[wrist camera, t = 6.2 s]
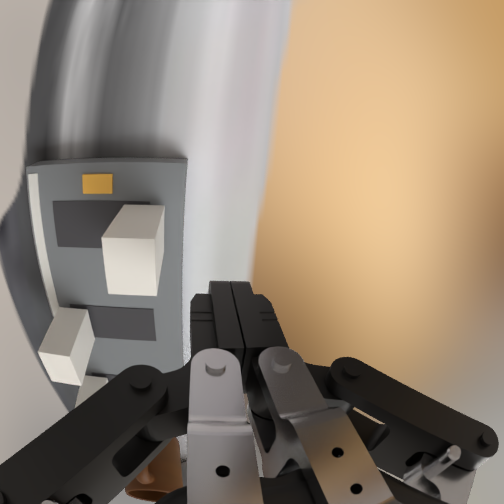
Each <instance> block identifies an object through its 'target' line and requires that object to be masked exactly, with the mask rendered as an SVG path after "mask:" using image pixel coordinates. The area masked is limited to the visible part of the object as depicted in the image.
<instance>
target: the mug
mask: <svg viewBox="0 0 504 504" xmlns="http://www.w3.org/2000/svg"><path fill="white" fill-rule="evenodd" d="M181 487H183V479H182V468H181V458H180V446H179V442H178V440H177V438H176V437H174V438H172V440H171V441H170V442H169V443H168V444H167V445H166V447H165V448H164V449H163V450H162V451H161V452H160V453H159V454H158V455H157V456H156V457H155V458H154V459H153V460H152V461H151V462H150V463H149V464H148V465H147V466H146V467H145V468H144V469H143V470H142V471H141V472H140V473H139V474H138V475H137V476H136V477H135V478H134V479H133V480H132V481H131V482H130V483H129V484H128V485H127V486H126V487H125V492H126V494H127V495H129V496H131V497H134V498H136V499H140V500H146V501H152V502H157V501H158V500H159V499H161V498H162V497H163V496H165V495H166V494H168V493H170V492H172V491H174V490H176V489H178V488H181Z"/></svg>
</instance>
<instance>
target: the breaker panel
mask: <svg viewBox="0 0 504 504" xmlns="http://www.w3.org/2000/svg"><path fill="white" fill-rule="evenodd" d="M187 161H188V159H180V158H141V157H118V158H81V159H62V160H48V161H39V162H36V163H34V164H32V165H29V166H27V167H26V175H27V190H28V201H29V210H30V218H31V225H32V232H33V238H34V244H35V249H36V254H37V259H38V264H39V268H40V273H41V277H42V281H43V285H44V289H45V293H46V296H47V300H48V304H49V307H50V310H51V314H52V317H53V319H54V317H55V315H56V313H57V311H58V309H59V307H64V308H75V309H87V310H88V314H89V318H90V322H91V326H92V330H93V333H94V337H95V341H94V344H93V347H92V351H91V354H90V358H89V361H88V365H87V368H86V372H85V375H86V376H95V377H103V378H107V379H108V382H109V381H110V380H112V379H113V378H114V377H116V376H117V375H118V374H119V373H121V372H122V371H123V370H125V369H126V368H128V367H130V366H133V365H149V366H152V367H155V368H157V369H158V370H160V371H161V372H162V373H167V372H171V371H174V370H177V369H180V368H182V367H183V366H184V362H183V332H182V256H183V226H184V205H185V188H186V174H187ZM124 205H164V206H165V212H164V255H163V260H162V266H161V272H160V278H159V285H158V291H157V296H142V295H120V294H108V288H107V282H106V274H105V266H104V258H103V249H102V236H103V234H104V233H105V231H106V230H107V229H108V227H109V226H110V224H111V223H112V221H113V220H114V218H115V217H116V216H117V214H118V213H119V211H120V210H121V208H122V207H123V206H124Z"/></svg>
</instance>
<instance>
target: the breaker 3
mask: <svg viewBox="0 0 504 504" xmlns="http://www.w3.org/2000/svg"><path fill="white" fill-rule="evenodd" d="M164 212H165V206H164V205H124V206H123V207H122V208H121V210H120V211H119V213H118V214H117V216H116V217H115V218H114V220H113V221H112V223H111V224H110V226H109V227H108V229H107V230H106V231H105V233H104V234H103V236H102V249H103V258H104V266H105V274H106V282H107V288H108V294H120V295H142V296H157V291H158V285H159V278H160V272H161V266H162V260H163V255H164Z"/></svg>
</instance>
